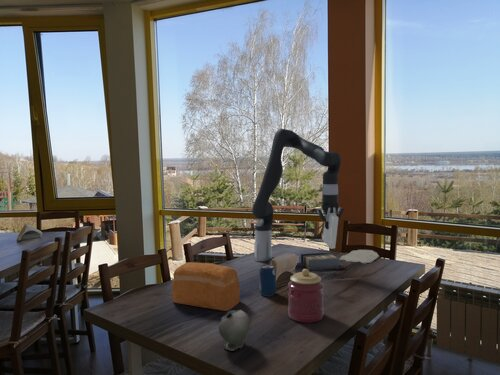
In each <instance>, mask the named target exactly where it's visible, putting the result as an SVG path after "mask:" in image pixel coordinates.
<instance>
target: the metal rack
mask: <svg viewBox="0 0 500 375" xmlns="http://www.w3.org/2000/svg"><path fill="white" fill-rule="evenodd" d="M328 255H333V256H334V254H332V253H331V254H330V252H329V251H327V252H326V251H323V252H309V253H300V264H301V265H303V266H304V267H305V269H308V268H307V267H306V257H312V256H319V257H320V256H328ZM331 269H332V270H333V269H340V257H337V258H330V259H315V260H309V269H308V270H309V271H317V270H331Z"/></svg>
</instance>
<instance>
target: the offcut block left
mask: <svg viewBox="0 0 500 375" xmlns="http://www.w3.org/2000/svg"><path fill="white" fill-rule="evenodd" d="M315 259H322V258H320V257H319V256H312V257H306V267H307V268H308V269H309V260H315ZM306 267H305V268H306ZM307 268H306V269H307Z"/></svg>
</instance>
